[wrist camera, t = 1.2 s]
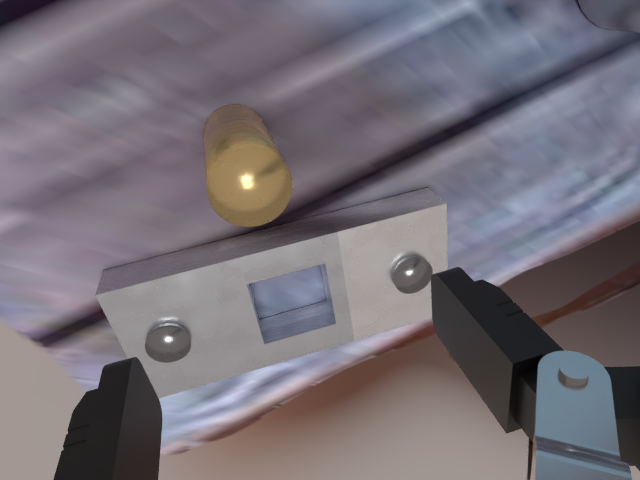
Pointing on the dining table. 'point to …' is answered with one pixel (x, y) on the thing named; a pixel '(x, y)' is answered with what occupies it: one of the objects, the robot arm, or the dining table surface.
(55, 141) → the dining table surface
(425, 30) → the dining table surface
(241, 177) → the brass pin
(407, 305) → the studded base plate
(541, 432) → the robot arm
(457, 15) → the dining table surface
